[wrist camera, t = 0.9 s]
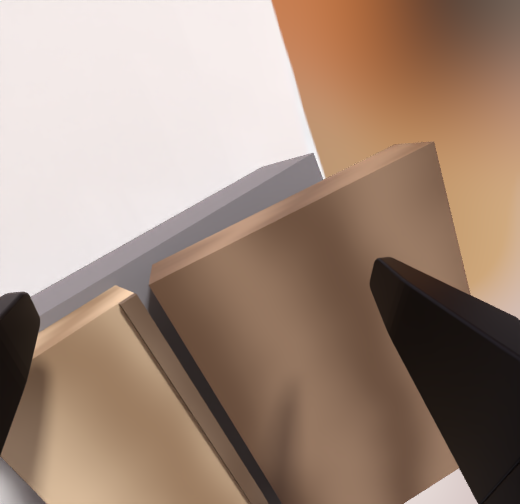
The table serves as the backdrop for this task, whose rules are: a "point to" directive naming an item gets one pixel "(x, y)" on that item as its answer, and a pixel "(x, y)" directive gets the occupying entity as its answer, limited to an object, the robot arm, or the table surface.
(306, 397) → the walnut plank
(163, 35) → the table surface
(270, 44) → the table surface
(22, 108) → the table surface
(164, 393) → the oak panel
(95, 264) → the underlay block
